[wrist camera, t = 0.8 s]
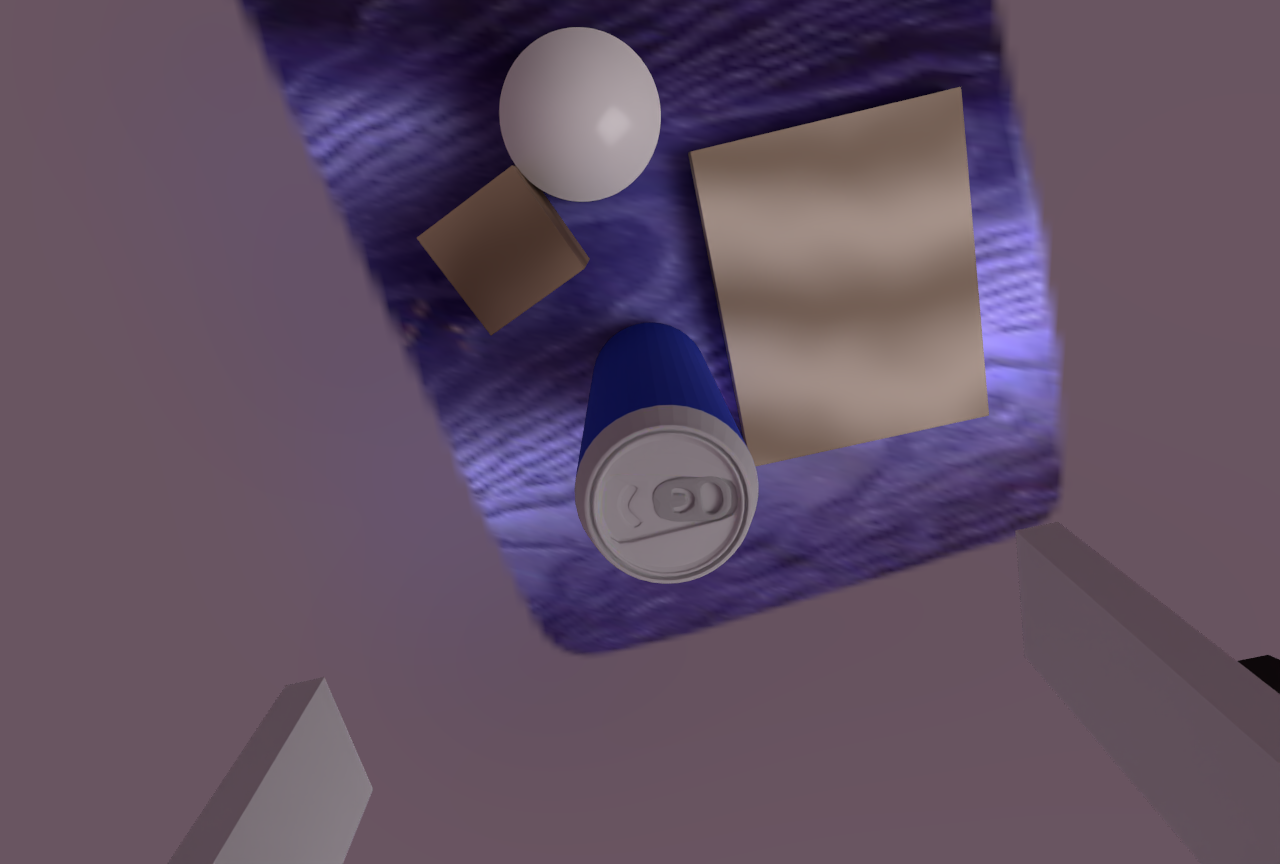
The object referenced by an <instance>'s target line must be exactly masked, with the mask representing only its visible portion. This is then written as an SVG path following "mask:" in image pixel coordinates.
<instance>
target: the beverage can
mask: <svg viewBox="0 0 1280 864" xmlns="http://www.w3.org/2000/svg"><path fill="white" fill-rule="evenodd" d="M757 500H758V477H757V471H756V467H755V464H754V461H753V458H752V456H751V454H750V452H749V450H748V448H747V446H746V444H745V441H744V439H743V437H742V435H741V433H740V431H739V429H738V427H737V425H736V423H735V421H734V419H733V417H732V415H731V413H730V411H729V409H728V407H727V405H726V403H725V401H724V399H723V396H722V394H721V392H720V390H719V388H718V386H717V384H716V382H715V380H714V378H713V376H712V374H711V372H710V370H709V368H708V366H707V364H706V362H705V360H704V358H703V356H702V354H701V352H700V350H699V348H698V347H697V346H696V344H695V343H694V342H693V341H692V340H691V339H690V338H689V337H688V336H687V335H686V334H684V333H683V332H681V331H680V330H678V329H676V328H674V327H672V326H669V325H665V324H661V323H641V324H636V325H633V326H630V327H627V328H625V329H623V330H621V331H620V332H618V333H617V334H615V335H614V336H613V337H612V338H611V339H610V340H609V341H608V342H607V343H606V344H605V345H604V347H603V348H602V350H601V351H600V353H599V355H598V357H597V359H596V363H595V366H594V371H593V377H592V383H591V389H590V395H589V401H588V407H587V413H586V419H585V425H584V431H583V438H582V444H581V450H580V456H579V462H578V468H577V474H576V482H575V503H576V508H577V512H578V516H579V519H580V521H581V523H582V526H583V528H584V530H585V531H586V533H587V535H588V536H589V538H590V539H591V541H592V542H593V543H594V545H595V546H596V547H597V549H598V550H599V551H600V552H601V553H602V555H603V556H604V557H605V558H606V559H607V560H608V561H609V562H611V563H612V564H613V565H614V566H615V567H617V568H618V569H620V570H622V571H623V572H625V573H626V574H628V575H631V576H633V577H636V578H638V579H641V580H645V581H649V582H655V583H680V582H685V581H690V580H693V579H696V578H699V577H702V576H704V575H706V574H708V573H710V572H712V571H714V570H715V569H716V568H718V567H719V566H721V565H722V564H723V563H725V562H726V561H727V560H728V559H729V558H730V557H731V556H732V555H733V554H734V552H735V551H736V550H737V549H738V547H739V546H740V545H741V543H742V541H743V539H744V538H745V536H746V534H747V532H748V529H749V526H750V524H751V521H752V518H753V516H754V513H755V510H756V505H757Z"/></svg>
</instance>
